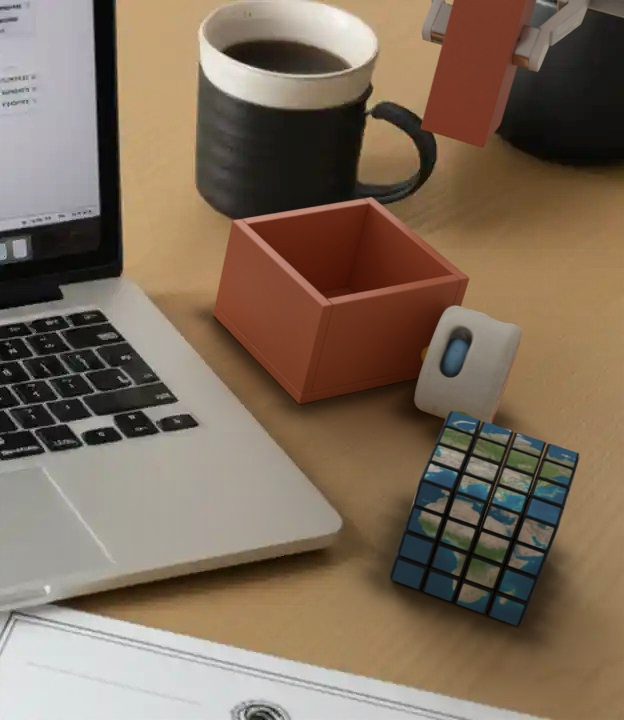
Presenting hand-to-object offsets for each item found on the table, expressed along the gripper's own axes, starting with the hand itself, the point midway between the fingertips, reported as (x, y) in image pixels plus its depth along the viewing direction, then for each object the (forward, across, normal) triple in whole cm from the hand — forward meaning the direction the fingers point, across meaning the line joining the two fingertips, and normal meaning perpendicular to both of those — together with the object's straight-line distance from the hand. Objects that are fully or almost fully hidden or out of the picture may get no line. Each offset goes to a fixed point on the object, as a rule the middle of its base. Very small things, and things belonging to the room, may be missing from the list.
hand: (479, 52), depth 90 cm
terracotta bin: (+17, -2, +3) cm, 18 cm away
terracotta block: (+3, 0, +4) cm, 5 cm away
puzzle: (+27, +10, -7) cm, 30 cm away
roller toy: (+19, +6, +2) cm, 20 cm away
